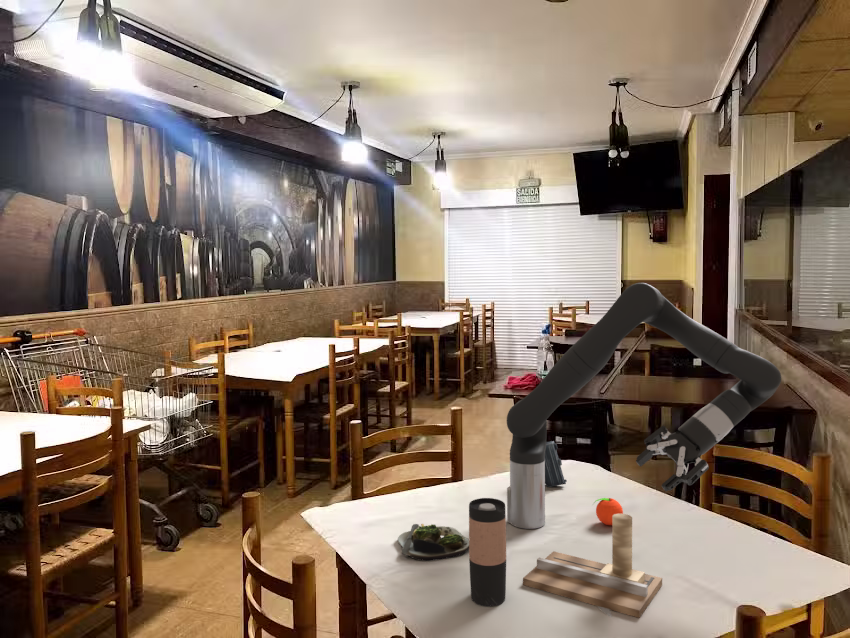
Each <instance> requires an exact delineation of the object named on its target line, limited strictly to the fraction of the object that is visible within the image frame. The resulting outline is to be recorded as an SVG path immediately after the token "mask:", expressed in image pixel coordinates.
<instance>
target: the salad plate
mask: <svg viewBox="0 0 850 638" xmlns="http://www.w3.org/2000/svg"><path fill="white" fill-rule="evenodd" d="M397 541H398V543H399V545H400V546H401V547H402V549H401V554H403V555H404V556H408V557H410V558H412V559H415V560H418V561H425V562H426V561H428V562H429V561H439V560H440V561H441V560H444V559H445V560H446V559H451V558H457V557H459V556H461V555H464V554H466V553H467V551H469V538H467V537H466V536H465V535H463V533H462V532H460V531H459V530H458V529H456V528H454V527H451V526H444V525H443V526H441V525H440V526H439V525H438V526H437V525H436V524H432V523H431V524H429V525H428V524H427V525H425V524H424V523H421V524H420V525H419V524H418V523H413V524H412V525H411V529H410V530H408V531H405V532H403V533H401V534H399V535H398V536H397Z"/></svg>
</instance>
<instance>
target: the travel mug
mask: <svg viewBox="0 0 850 638" xmlns="http://www.w3.org/2000/svg"><path fill="white" fill-rule="evenodd" d="M468 503H469V504H468V540H469V549H468V560H469V561H468V562H469V563H468V564H469V578H470V579H469V581H470V597H471V601H472V602H473V603H475V605H479V606H482V607H497V606H500V605H502V604H503V603H504V602H505V601H506V595H507V593H506V592H507V590H506V588H507V587H506V586H507V532H506V531H507V529H506V528H507V525H506V523H507V522H506V521H507V520H506V519H507V518H506V517H507V514H506V504H505V502H504V501H503V500H500V499H498V498H493V497H482V498H481V497H480V498H476V499H472V500H471V501H470V502H468Z"/></svg>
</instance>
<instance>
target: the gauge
mask: <svg viewBox="0 0 850 638" xmlns="http://www.w3.org/2000/svg"><path fill="white" fill-rule="evenodd" d="M611 526H612V535H611V536H612V550H611V551H612V553H611V557H612V558H611V559H612V560H611V561H612V562H611V563H606V564H607V565H606V566H605V567H604V568H603V569H602V570H601V571H600V573H602V574H606V575H610V576H614V577H618V578H621V579H625V580H629V581H633V582H637V583H641V584H643V583H644V582H645V574H646V572H644V571H641V570H637V569H633V516H631V515H630V514H627V513H623V514H614V515H613V516H612V525H611Z"/></svg>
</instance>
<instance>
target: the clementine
mask: <svg viewBox="0 0 850 638" xmlns="http://www.w3.org/2000/svg"><path fill="white" fill-rule="evenodd" d="M597 501H599V502H598V503H597V505H596V508H595V512H596V513H595V514H596V517H597V519H598V520H599V521H600V523H603V524H604V525H606V526H612V516H613V515H614V514H624V510H623V507H622V504H621V503H620V502H619V501H618V500H616V499H615V498H610V497H607V498H606V497H603V498H602V497H601V498H597V500H595V501H594V502H593V504H592V505H594V504H595V503H596V502H597Z"/></svg>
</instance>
